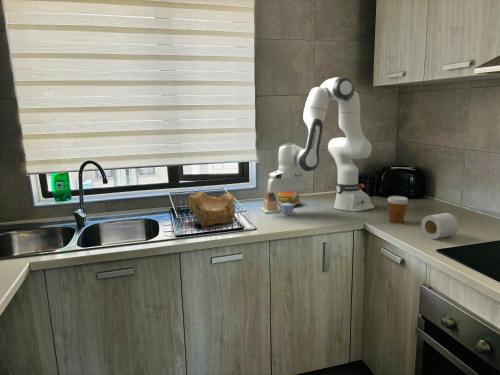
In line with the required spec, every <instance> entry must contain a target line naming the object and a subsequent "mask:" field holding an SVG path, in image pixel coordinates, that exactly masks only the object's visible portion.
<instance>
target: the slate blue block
mask: <svg viewBox="0 0 500 375" xmlns="http://www.w3.org/2000/svg"><path fill="white" fill-rule="evenodd" d="M279 208H280V212H279V213H281V214H282V215H283V216H289V215H290V216H291V215H294V206H293V205H292V204H290V203H281V204H280V205H279Z"/></svg>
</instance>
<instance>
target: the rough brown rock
mask: <svg viewBox="0 0 500 375" xmlns="http://www.w3.org/2000/svg"><path fill="white" fill-rule="evenodd" d="M187 202H188V203H187V205H188V208H189V212H190V213H192V214H193V215H194V218H195V219H196V221H198V222H199V223H200V225H201V227H203V228H205V227H209V226H212V225H215V224H230V222H232V220H233V219H234V217H235V205H234V195H233V194H231V193H224V194H223V195H221V196H219V197H218V196H217V197H216V196H209V195H208V194H206V192H203V191H198V192H196V193H191V194H189V195H188V198H187Z"/></svg>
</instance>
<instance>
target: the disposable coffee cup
mask: <svg viewBox="0 0 500 375" xmlns="http://www.w3.org/2000/svg"><path fill="white" fill-rule="evenodd" d="M386 202H387V204H388V205H387V206H388V216H389V217H388V220H389V223H392V224H403V223H404V220H405V214H406V210H407V205H408V203H409V199H408V197H406V196H401V195H391V196H388V198H387V199H386Z"/></svg>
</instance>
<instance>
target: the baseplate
mask: <svg viewBox="0 0 500 375" xmlns="http://www.w3.org/2000/svg"><path fill="white" fill-rule="evenodd" d="M258 210H260V211H261V212H262V213H263V214H264V215H267V214H274V213H275V214H276V213H280V207H278V210H270V211H267V210H266V209H264V206H260V207H258Z"/></svg>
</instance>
